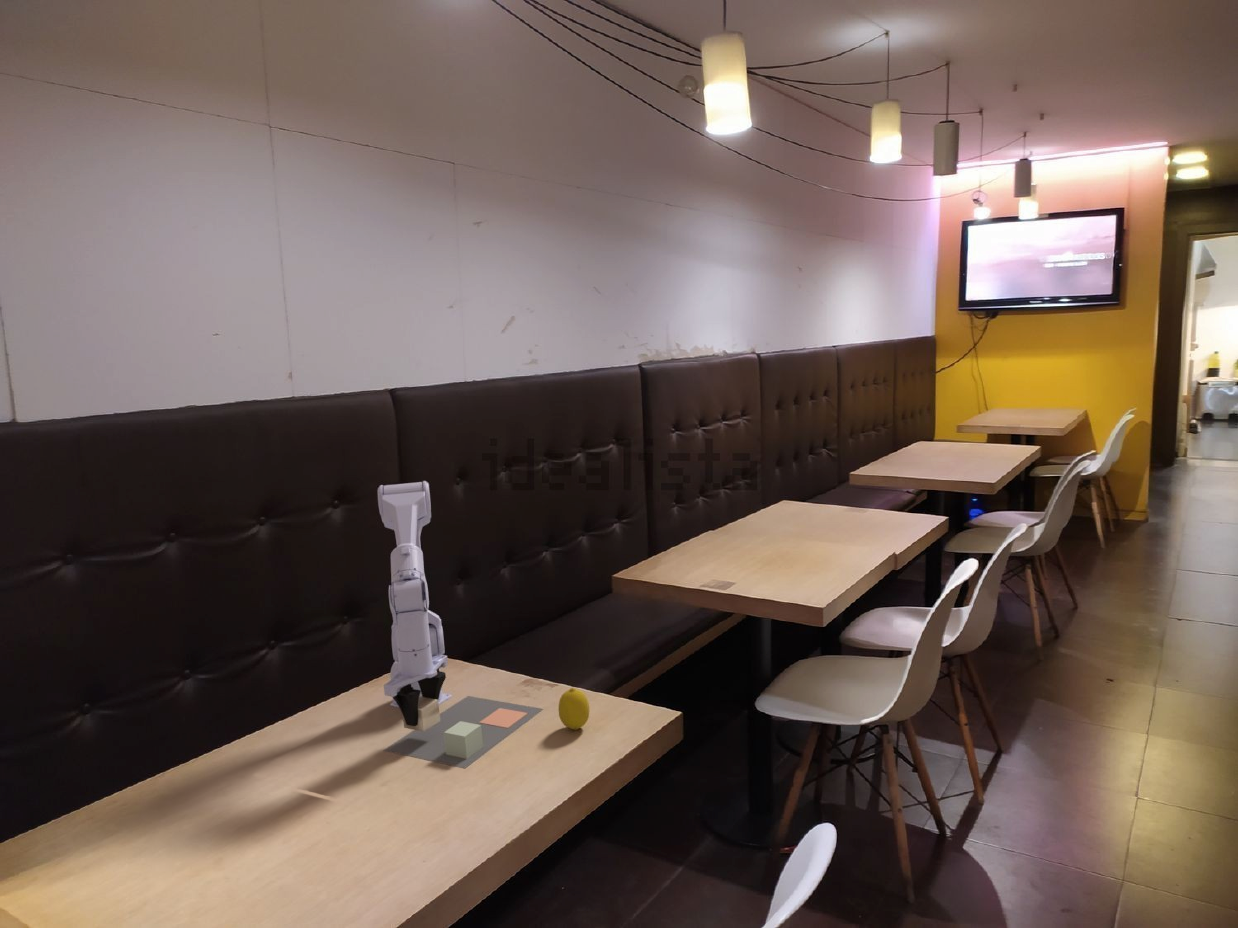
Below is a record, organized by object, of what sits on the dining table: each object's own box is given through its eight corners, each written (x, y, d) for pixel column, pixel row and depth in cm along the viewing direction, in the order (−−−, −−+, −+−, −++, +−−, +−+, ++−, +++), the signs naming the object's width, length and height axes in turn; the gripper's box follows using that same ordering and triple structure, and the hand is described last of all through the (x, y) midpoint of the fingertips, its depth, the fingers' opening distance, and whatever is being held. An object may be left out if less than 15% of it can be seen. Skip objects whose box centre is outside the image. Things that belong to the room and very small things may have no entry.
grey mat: (383, 752, 146) (383, 749, 146) (468, 697, 167) (467, 695, 167) (465, 770, 138) (465, 767, 138) (543, 710, 159) (543, 708, 159)
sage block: (446, 754, 143) (443, 732, 143) (462, 742, 147) (460, 721, 147) (467, 758, 141) (464, 736, 141) (483, 746, 145) (481, 725, 145)
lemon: (555, 728, 151) (552, 686, 150) (583, 720, 154) (580, 679, 153) (566, 740, 146) (563, 697, 145) (595, 732, 149) (592, 689, 148)
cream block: (404, 727, 149) (401, 706, 148) (421, 716, 153) (418, 696, 152) (423, 731, 147) (421, 710, 146) (440, 720, 150) (438, 699, 150)
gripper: (403, 663, 139) (411, 740, 141) (458, 634, 152) (464, 705, 154) (371, 658, 142) (379, 733, 144) (427, 630, 155) (434, 699, 157)
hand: (421, 718), depth 149 cm, fingers closed on cream block, 4 cm apart
